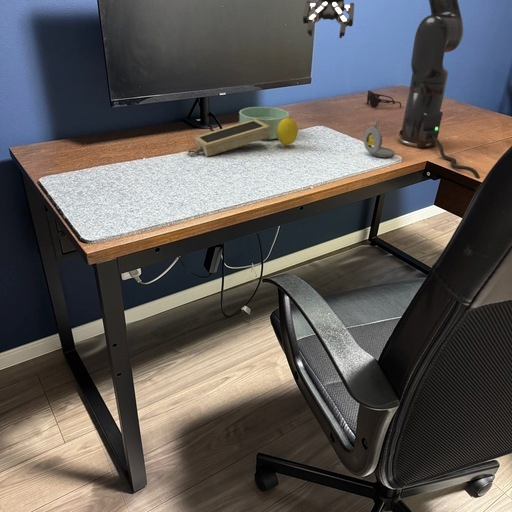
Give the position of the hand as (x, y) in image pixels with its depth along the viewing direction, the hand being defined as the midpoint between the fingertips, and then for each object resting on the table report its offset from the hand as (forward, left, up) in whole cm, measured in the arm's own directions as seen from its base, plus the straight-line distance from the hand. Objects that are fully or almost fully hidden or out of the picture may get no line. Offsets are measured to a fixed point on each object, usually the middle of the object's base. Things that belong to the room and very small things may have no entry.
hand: (325, 35), depth 138 cm
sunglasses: (+14, -40, -26) cm, 50 cm away
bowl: (-1, +19, -26) cm, 32 cm away
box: (-10, +35, -26) cm, 45 cm away
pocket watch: (-29, 0, -26) cm, 39 cm away
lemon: (-13, +19, -26) cm, 35 cm away
